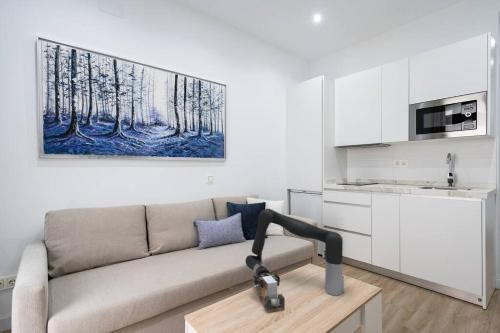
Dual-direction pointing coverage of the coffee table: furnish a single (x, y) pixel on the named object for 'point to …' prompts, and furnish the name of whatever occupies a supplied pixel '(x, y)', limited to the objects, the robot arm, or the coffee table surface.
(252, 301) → the coffee table surface
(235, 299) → the coffee table surface
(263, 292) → the small box
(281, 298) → the stand
